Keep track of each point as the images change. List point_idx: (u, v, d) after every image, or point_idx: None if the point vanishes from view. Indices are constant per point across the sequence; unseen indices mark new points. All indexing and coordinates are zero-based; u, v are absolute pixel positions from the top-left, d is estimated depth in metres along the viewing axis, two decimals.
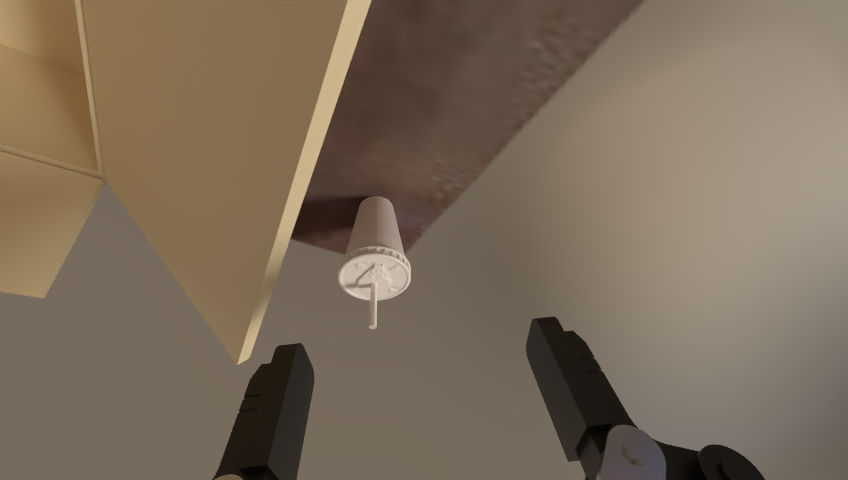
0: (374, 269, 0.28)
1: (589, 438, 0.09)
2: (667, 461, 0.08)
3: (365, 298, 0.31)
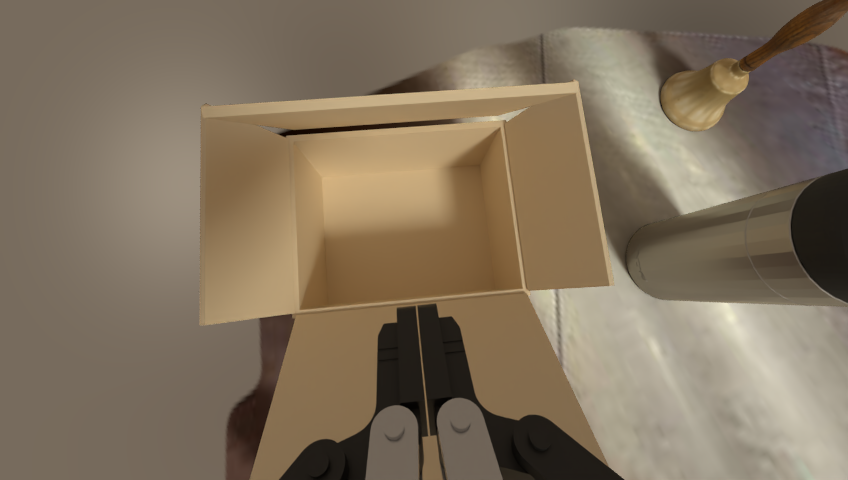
0: None
1: (435, 411, 0.09)
2: (495, 430, 0.09)
3: None
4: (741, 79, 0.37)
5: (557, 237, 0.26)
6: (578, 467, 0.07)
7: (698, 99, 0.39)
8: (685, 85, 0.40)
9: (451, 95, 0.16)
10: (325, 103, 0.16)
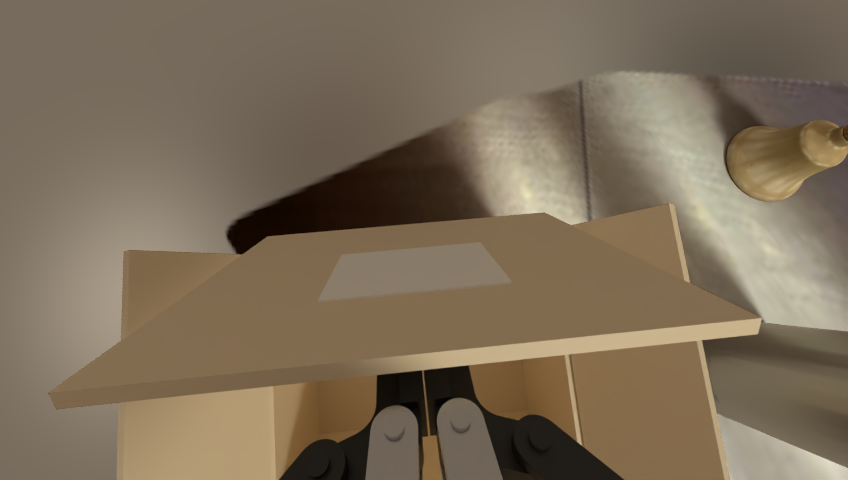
0: None
1: (434, 411, 0.09)
2: (494, 430, 0.09)
3: None
4: (842, 149, 0.29)
5: (638, 418, 0.18)
6: (578, 467, 0.07)
7: (780, 167, 0.32)
8: (761, 148, 0.33)
9: (528, 350, 0.09)
10: (290, 374, 0.08)
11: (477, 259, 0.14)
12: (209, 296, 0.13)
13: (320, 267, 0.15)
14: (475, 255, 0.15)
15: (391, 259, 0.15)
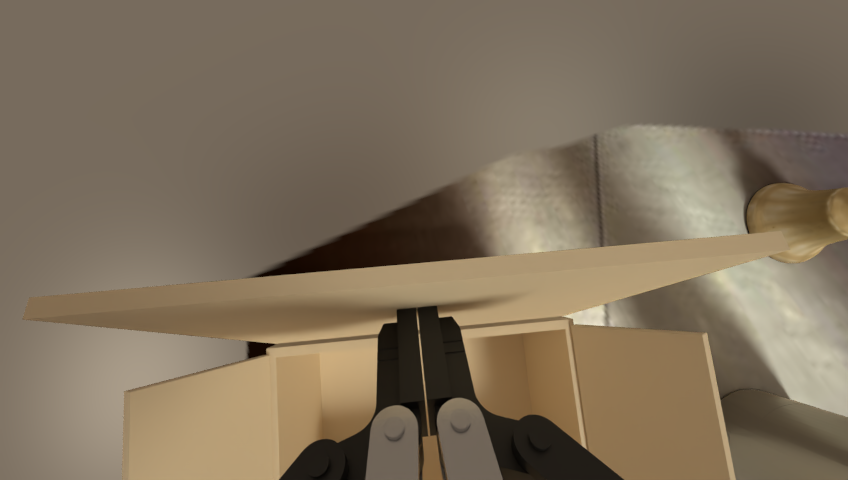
0: None
1: (435, 411, 0.09)
2: (495, 430, 0.09)
3: None
4: None
5: None
6: (578, 467, 0.07)
7: (804, 233, 0.30)
8: (784, 211, 0.31)
9: (536, 262, 0.08)
10: (281, 283, 0.08)
11: None
12: None
13: None
14: None
15: None
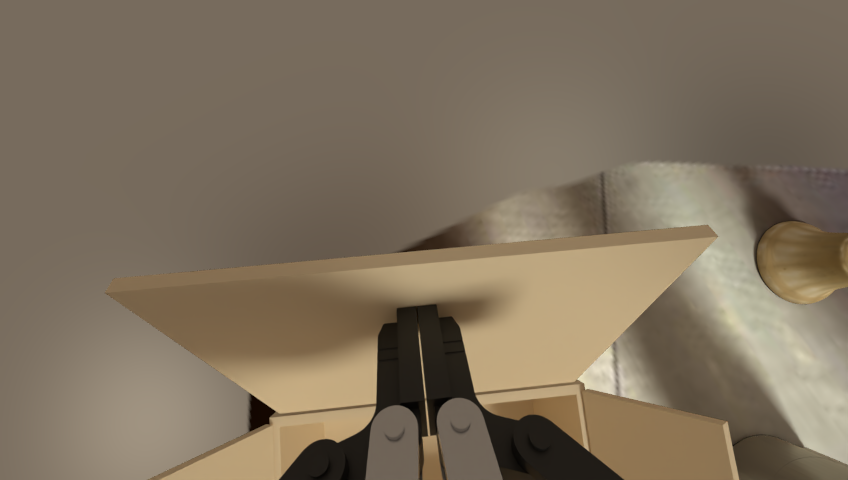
0: None
1: (434, 411, 0.09)
2: (494, 430, 0.09)
3: None
4: None
5: None
6: (578, 467, 0.07)
7: (817, 277, 0.30)
8: (795, 253, 0.31)
9: (512, 248, 0.10)
10: (309, 266, 0.10)
11: None
12: None
13: None
14: None
15: None
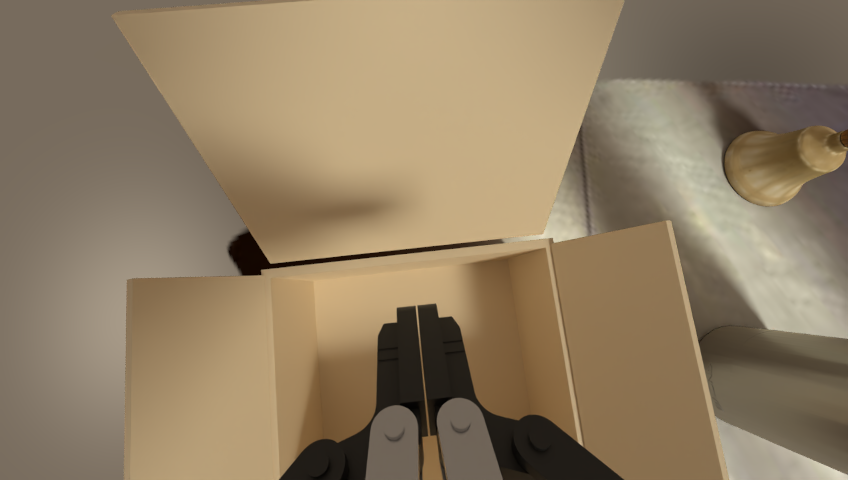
0: None
1: (435, 411, 0.09)
2: (495, 430, 0.09)
3: None
4: (839, 155, 0.29)
5: (640, 434, 0.18)
6: (578, 467, 0.07)
7: (778, 173, 0.32)
8: (759, 154, 0.33)
9: None
10: (284, 0, 0.12)
11: None
12: None
13: None
14: None
15: None
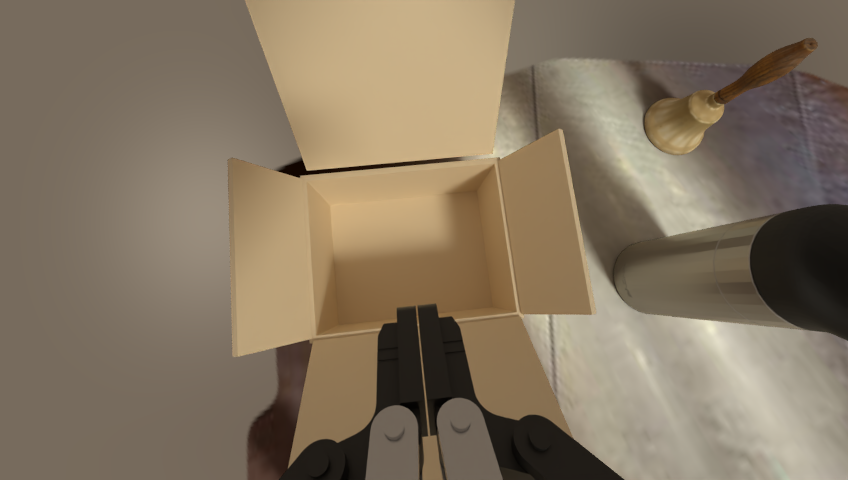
0: None
1: (434, 411, 0.09)
2: (494, 430, 0.09)
3: None
4: (716, 110, 0.40)
5: (546, 267, 0.29)
6: (578, 467, 0.07)
7: (679, 126, 0.42)
8: (666, 113, 0.43)
9: None
10: None
11: None
12: None
13: None
14: None
15: None
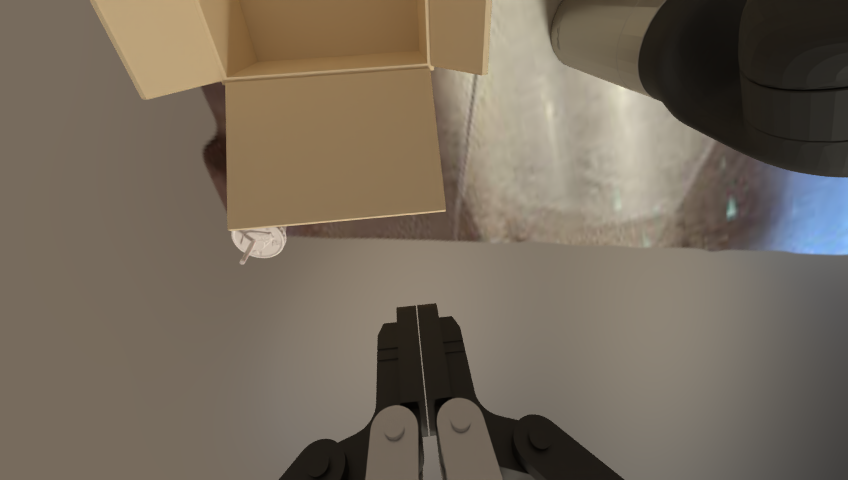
0: (267, 235, 0.42)
1: (434, 411, 0.09)
2: (494, 430, 0.09)
3: (235, 242, 0.42)
4: None
5: (455, 16, 0.27)
6: (578, 467, 0.07)
7: None
8: None
9: None
10: None
11: None
12: None
13: None
14: None
15: None
